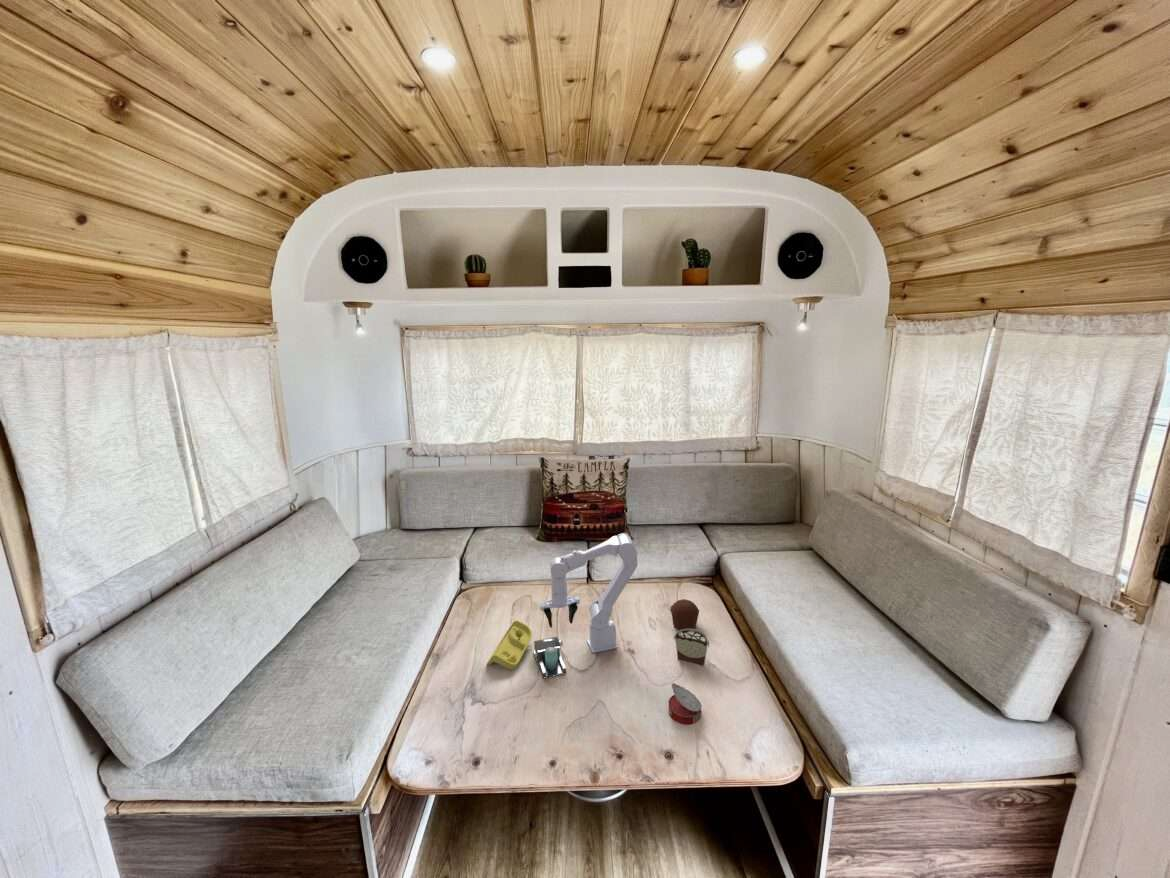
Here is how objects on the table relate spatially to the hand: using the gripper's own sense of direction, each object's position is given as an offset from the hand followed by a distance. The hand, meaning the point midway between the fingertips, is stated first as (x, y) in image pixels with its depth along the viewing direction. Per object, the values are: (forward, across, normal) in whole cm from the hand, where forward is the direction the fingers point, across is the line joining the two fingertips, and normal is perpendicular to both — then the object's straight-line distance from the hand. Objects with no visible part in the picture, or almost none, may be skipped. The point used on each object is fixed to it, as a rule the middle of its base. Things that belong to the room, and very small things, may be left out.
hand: (560, 624), depth 179 cm
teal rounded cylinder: (+9, +6, +9) cm, 15 cm away
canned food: (+10, -28, +43) cm, 52 cm away
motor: (+10, +5, +6) cm, 13 cm away
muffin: (+10, -50, +2) cm, 51 cm away
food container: (+10, -43, +21) cm, 49 cm away
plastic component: (+10, +18, -3) cm, 21 cm away
